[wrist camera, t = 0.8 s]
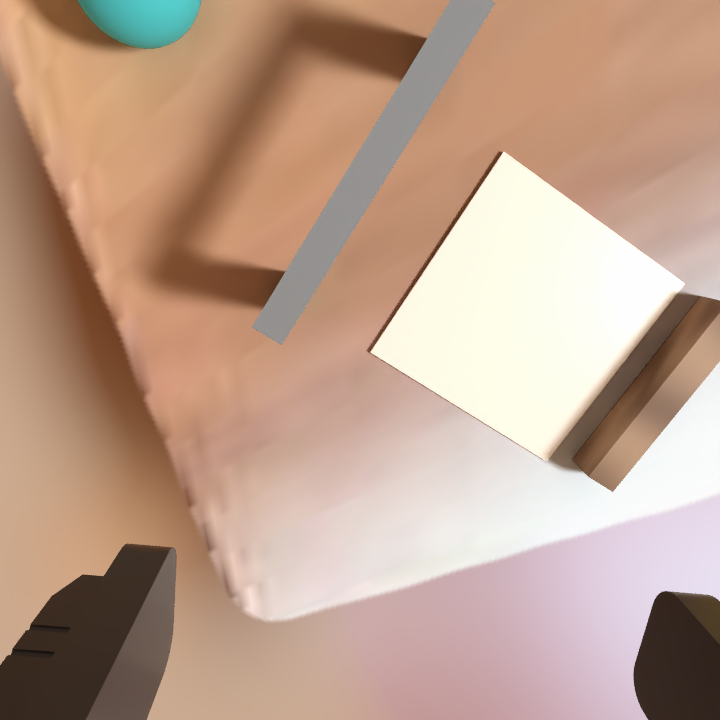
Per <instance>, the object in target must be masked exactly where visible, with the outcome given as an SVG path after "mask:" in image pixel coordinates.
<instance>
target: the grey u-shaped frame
mask: <svg viewBox="0 0 720 720" xmlns="http://www.w3.org/2000/svg"><path fill="white" fill-rule="evenodd" d="M494 5H495V3H494V2H493V1H491V0H450V2H449V4H448V5H447V7H446V9H445V10H444V12H443V14H442V15H441V17H440V18H439V20H438V22H437V23H436V25H435V27H434V28H433V30H432V32H431V33H430V35H429V37H428V38H427V40H426V41H425V43H424V45H423V46H422V48H421V50H420V51H419V53H418V55H417V56H416V58H415V60H414V61H413V63H412V65H411V66H410V68H409V69H408V71H407V73H406V74H405V76H404V78H403V79H402V81H401V83H400V84H399V86H398V88H397V89H396V91H395V92H394V94H393V96H392V97H391V99H390V101H389V102H388V104H387V106H386V107H385V109H384V111H383V112H382V114H381V116H380V117H379V119H378V120H377V122H376V124H375V125H374V127H373V129H372V130H371V132H370V134H369V135H368V137H367V139H366V140H365V142H364V144H363V145H362V147H361V148H360V150H359V152H358V153H357V155H356V157H355V158H354V160H353V162H352V163H351V165H350V167H349V168H348V170H347V171H346V173H345V175H344V176H343V178H342V180H341V181H340V183H339V185H338V186H337V188H336V190H335V191H334V193H333V195H332V196H331V198H330V199H329V201H328V203H327V204H326V206H325V208H324V209H323V211H322V213H321V214H320V216H319V218H318V219H317V221H316V222H315V224H314V226H313V227H312V229H311V231H310V232H309V234H308V236H307V237H306V239H305V241H304V242H303V244H302V246H301V247H300V249H299V250H298V252H297V254H296V255H295V257H294V259H293V260H292V262H291V264H290V265H289V267H288V269H287V270H286V272H285V273H284V275H283V277H282V278H281V280H280V282H279V283H278V285H277V287H276V288H275V290H274V292H273V293H272V295H271V297H270V298H269V300H268V301H267V303H266V305H265V306H264V308H263V310H262V311H261V313H260V315H259V316H258V318H257V320H256V321H255V323H254V325H253V326H252V328H254V329H256V330H257V331H259V332H261V333H262V334H264V335H266V336H267V337H269V338H271V339H272V340H274V341H276V342H277V343H279V344H281V345H282V344H283V342H284V341H285V339H286V337H287V336H288V334H289V333H290V331H291V329H292V328H293V326H294V325H295V323H296V321H297V320H298V318H299V317H300V315H301V313H302V312H303V310H304V309H305V307H306V305H307V304H308V302H309V301H310V299H311V297H312V296H313V294H314V293H315V291H316V289H317V288H318V286H319V285H320V283H321V281H322V280H323V278H324V277H325V275H326V273H327V272H328V270H329V269H330V267H331V265H332V264H333V262H334V261H335V259H336V257H337V256H338V254H339V253H340V251H341V249H342V248H343V246H344V245H345V243H346V241H347V240H348V238H349V237H350V235H351V233H352V232H353V230H354V229H355V227H356V225H357V224H358V222H359V221H360V219H361V217H362V216H363V214H364V213H365V211H366V209H367V208H368V206H369V205H370V203H371V201H372V200H373V198H374V197H375V195H376V193H377V192H378V190H379V189H380V187H381V185H382V184H383V182H384V181H385V179H386V177H387V176H388V174H389V173H390V171H391V169H392V168H393V166H394V165H395V163H396V161H397V160H398V158H399V157H400V155H401V153H402V152H403V150H404V149H405V147H406V145H407V144H408V142H409V141H410V139H411V137H412V136H413V134H414V133H415V131H416V129H417V128H418V126H419V125H420V123H421V121H422V120H423V118H424V117H425V115H426V113H427V112H428V110H429V109H430V107H431V105H432V104H433V102H434V101H435V99H436V97H437V96H438V94H439V93H440V91H441V89H442V88H443V86H444V85H445V83H446V81H447V80H448V78H449V77H450V75H451V73H452V72H453V70H454V69H455V67H456V65H457V64H458V62H459V61H460V59H461V57H462V56H463V54H464V53H465V51H466V49H467V48H468V46H469V45H470V43H471V41H472V40H473V38H474V37H475V35H476V33H477V32H478V30H479V29H480V27H481V25H482V24H483V22H484V21H485V19H486V17H487V16H488V14H489V13H490V11H491V9H492V8H493V6H494Z"/></svg>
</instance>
